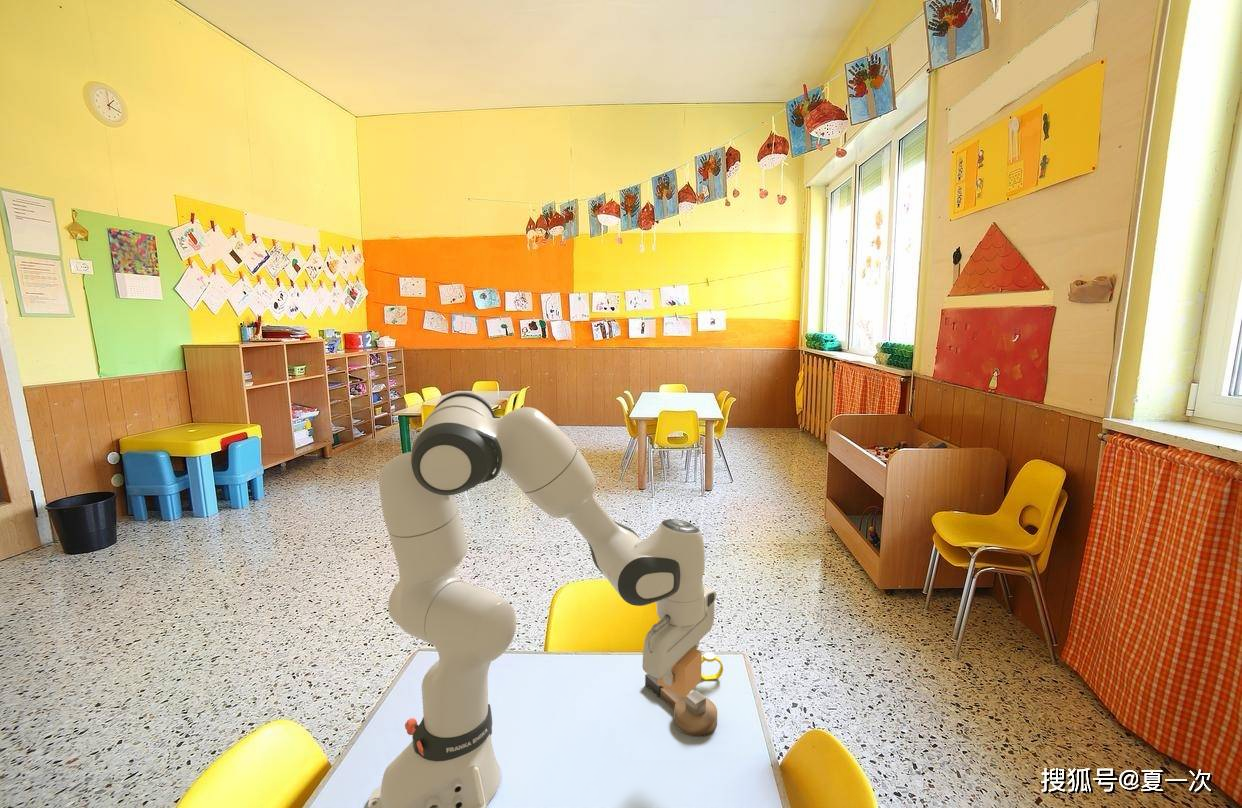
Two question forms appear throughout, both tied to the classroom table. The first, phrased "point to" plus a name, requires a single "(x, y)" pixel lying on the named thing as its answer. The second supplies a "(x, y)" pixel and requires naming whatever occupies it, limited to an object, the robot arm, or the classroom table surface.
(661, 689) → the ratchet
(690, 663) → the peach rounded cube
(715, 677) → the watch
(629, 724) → the classroom table surface
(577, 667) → the classroom table surface
